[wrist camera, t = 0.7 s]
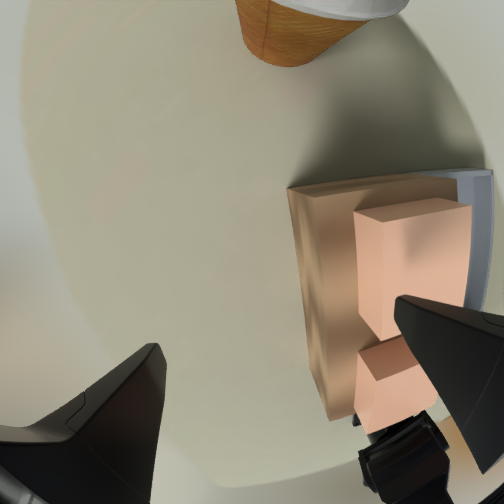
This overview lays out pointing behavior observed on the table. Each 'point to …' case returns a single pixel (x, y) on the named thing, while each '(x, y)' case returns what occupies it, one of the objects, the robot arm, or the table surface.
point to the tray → (475, 226)
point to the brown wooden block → (343, 271)
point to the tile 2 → (410, 257)
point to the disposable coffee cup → (304, 25)
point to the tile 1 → (390, 385)
